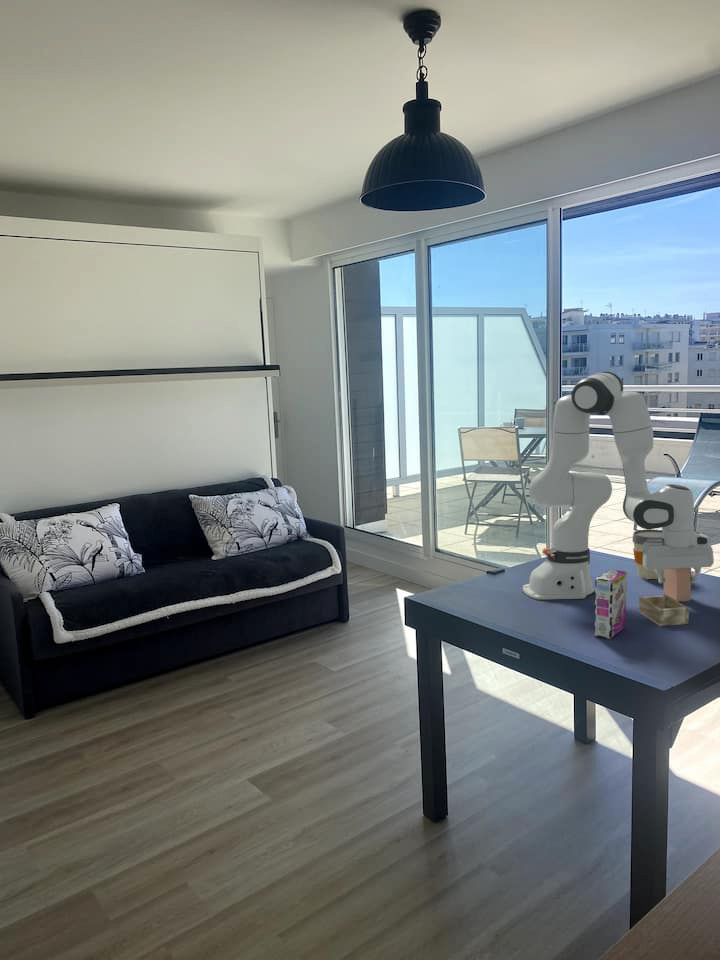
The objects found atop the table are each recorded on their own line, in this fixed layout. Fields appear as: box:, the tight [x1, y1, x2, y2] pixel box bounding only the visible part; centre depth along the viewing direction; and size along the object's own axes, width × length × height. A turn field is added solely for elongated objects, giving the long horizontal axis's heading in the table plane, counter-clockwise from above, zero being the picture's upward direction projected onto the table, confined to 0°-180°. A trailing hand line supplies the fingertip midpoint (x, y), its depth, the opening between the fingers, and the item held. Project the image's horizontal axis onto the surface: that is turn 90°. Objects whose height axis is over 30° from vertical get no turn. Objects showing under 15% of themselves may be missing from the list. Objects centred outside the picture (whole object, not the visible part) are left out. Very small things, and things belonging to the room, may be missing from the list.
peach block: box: [662, 568, 692, 603], centre depth 226 cm, size 4×8×12 cm, turn 5°
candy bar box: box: [594, 569, 627, 640], centre depth 200 cm, size 11×5×16 cm, turn 141°
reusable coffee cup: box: [632, 529, 664, 580], centre depth 249 cm, size 13×13×15 cm
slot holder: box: [638, 594, 690, 627], centre depth 209 cm, size 8×12×5 cm
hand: (677, 581), depth 222 cm, fingers open, 8 cm apart
